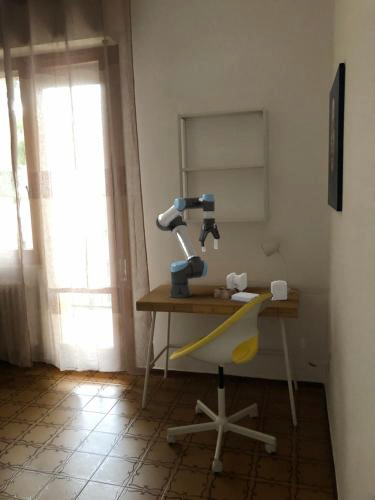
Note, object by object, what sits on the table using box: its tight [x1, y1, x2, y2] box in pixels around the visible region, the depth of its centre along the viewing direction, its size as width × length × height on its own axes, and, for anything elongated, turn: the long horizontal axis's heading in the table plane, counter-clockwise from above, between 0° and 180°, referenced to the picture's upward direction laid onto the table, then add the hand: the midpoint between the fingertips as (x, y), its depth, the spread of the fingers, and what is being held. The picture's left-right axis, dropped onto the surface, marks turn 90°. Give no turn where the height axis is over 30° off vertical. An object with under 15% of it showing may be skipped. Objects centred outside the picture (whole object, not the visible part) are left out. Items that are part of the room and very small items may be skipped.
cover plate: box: [231, 291, 260, 302], centre depth 265 cm, size 14×11×2 cm
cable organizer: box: [225, 272, 248, 292], centre depth 293 cm, size 15×11×12 cm
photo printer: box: [270, 279, 288, 301], centre depth 261 cm, size 10×4×12 cm, turn 96°
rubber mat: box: [228, 298, 248, 304], centre depth 265 cm, size 16×14×1 cm
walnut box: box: [213, 286, 237, 300], centre depth 275 cm, size 12×8×5 cm, turn 51°
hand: (210, 250), depth 269 cm, fingers open, 13 cm apart
